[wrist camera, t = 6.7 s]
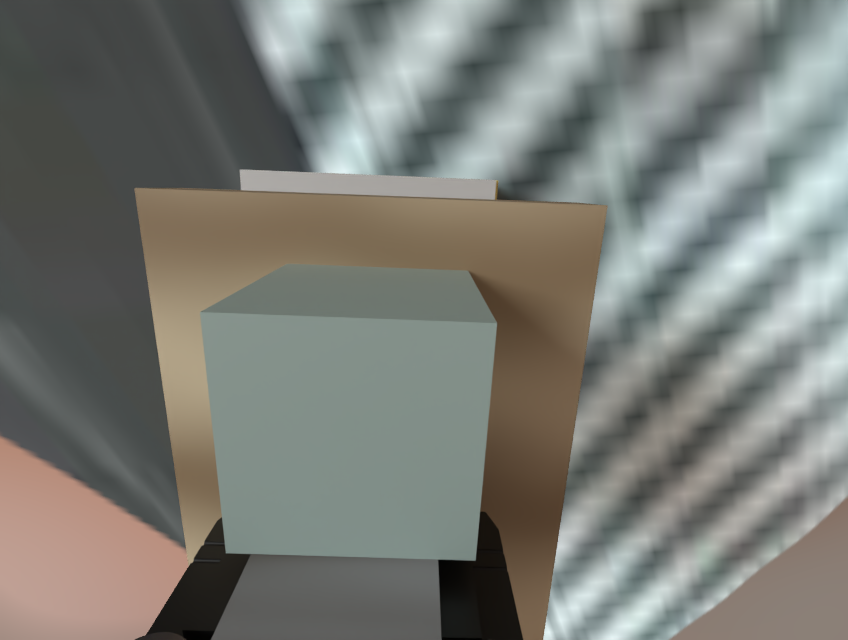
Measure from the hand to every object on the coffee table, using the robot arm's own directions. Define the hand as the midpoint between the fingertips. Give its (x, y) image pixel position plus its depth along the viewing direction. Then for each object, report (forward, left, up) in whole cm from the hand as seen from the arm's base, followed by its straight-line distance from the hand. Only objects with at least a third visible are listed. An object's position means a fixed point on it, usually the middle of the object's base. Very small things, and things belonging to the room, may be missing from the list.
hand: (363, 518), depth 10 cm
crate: (0, -4, -1) cm, 4 cm away
